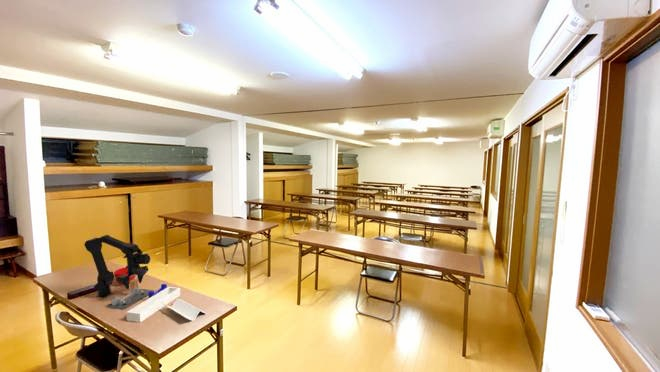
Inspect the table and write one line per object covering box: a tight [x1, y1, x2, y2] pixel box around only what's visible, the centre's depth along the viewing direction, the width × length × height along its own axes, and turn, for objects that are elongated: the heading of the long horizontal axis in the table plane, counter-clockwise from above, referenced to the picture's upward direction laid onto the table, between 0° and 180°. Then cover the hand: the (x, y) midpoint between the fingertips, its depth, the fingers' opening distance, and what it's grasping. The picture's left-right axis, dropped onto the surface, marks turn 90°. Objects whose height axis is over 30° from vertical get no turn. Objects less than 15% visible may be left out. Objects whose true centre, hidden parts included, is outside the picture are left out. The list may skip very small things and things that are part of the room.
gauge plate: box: [107, 287, 155, 311], centre depth 176 cm, size 12×22×5 cm, turn 169°
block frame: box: [125, 286, 181, 323], centre depth 168 cm, size 9×31×5 cm, turn 169°
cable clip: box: [148, 283, 168, 299], centre depth 181 cm, size 12×4×6 cm, turn 170°
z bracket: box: [164, 297, 208, 322], centre depth 163 cm, size 12×25×6 cm
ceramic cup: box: [113, 266, 137, 286], centre depth 200 cm, size 13×17×10 cm
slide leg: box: [129, 278, 144, 294], centre depth 181 cm, size 8×3×9 cm, turn 79°
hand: (134, 286), depth 181 cm, fingers open, 9 cm apart
